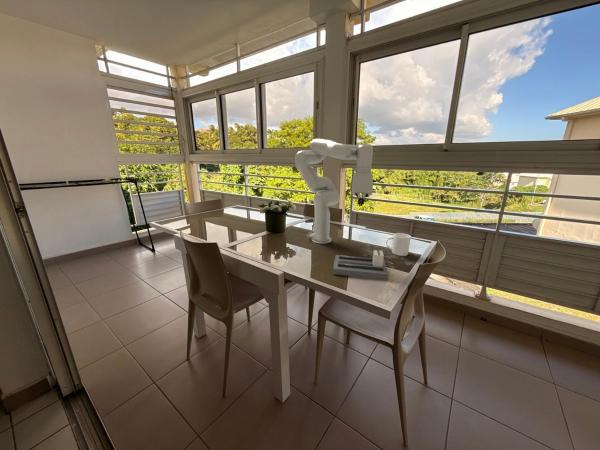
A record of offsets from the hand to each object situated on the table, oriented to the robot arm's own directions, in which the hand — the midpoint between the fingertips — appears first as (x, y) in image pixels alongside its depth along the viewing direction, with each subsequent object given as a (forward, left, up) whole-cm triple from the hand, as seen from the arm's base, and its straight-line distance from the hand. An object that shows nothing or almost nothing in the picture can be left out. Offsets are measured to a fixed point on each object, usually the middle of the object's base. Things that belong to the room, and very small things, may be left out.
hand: (360, 205), depth 127 cm
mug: (+22, +6, -27) cm, 36 cm away
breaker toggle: (+9, -20, -24) cm, 32 cm away
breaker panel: (+1, -20, -27) cm, 34 cm away
